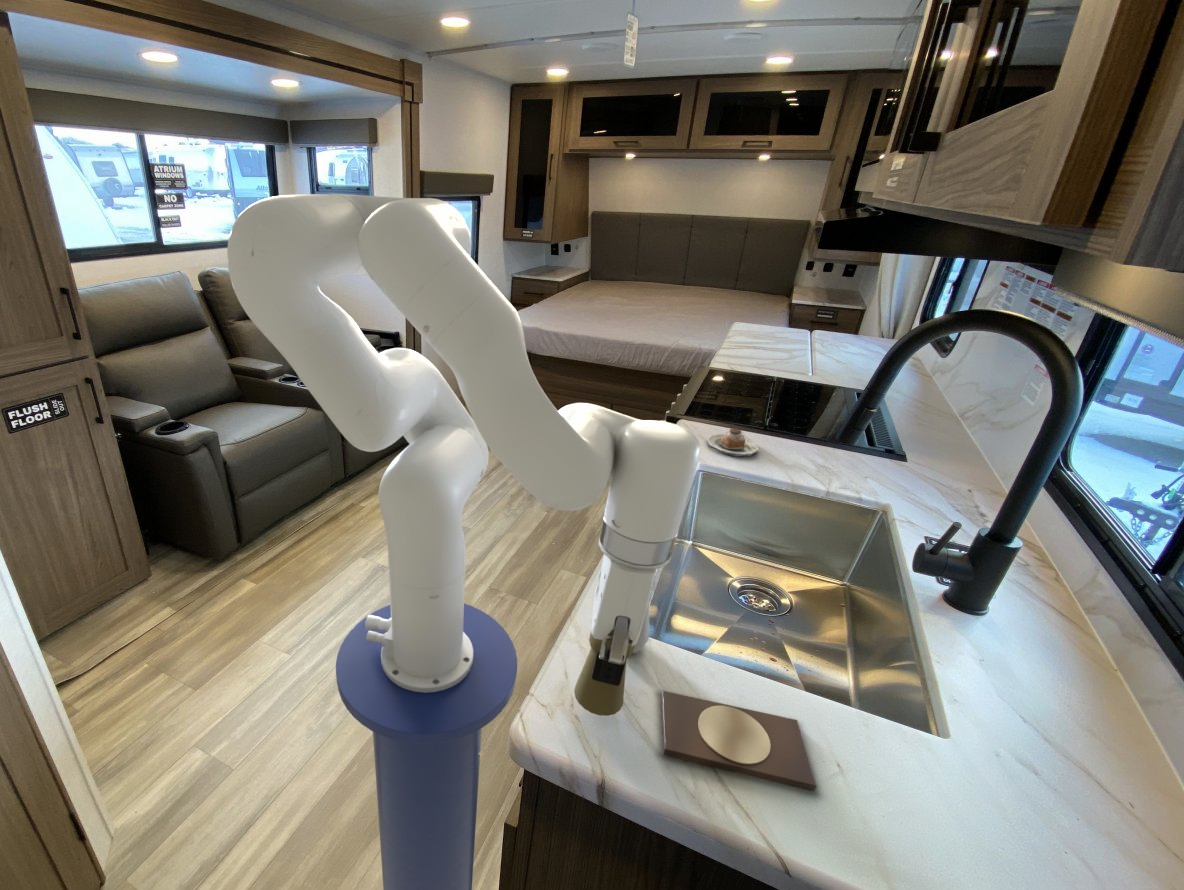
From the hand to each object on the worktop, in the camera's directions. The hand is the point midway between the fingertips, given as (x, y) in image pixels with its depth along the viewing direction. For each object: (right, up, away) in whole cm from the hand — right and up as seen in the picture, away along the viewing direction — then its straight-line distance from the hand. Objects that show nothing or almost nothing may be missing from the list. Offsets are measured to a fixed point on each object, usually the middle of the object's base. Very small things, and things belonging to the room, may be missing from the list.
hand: (606, 661), depth 69 cm
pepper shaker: (0, -5, +3) cm, 6 cm away
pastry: (+51, +29, +77) cm, 97 cm away
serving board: (+15, -9, 0) cm, 18 cm away
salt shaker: (+6, -2, +14) cm, 15 cm away
